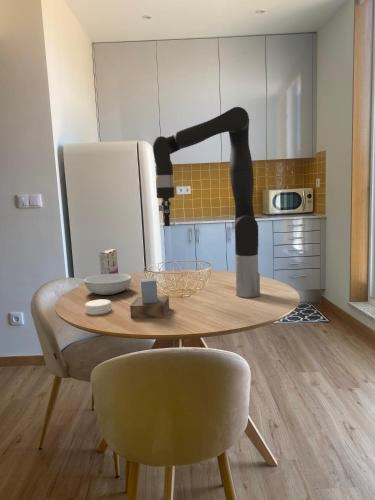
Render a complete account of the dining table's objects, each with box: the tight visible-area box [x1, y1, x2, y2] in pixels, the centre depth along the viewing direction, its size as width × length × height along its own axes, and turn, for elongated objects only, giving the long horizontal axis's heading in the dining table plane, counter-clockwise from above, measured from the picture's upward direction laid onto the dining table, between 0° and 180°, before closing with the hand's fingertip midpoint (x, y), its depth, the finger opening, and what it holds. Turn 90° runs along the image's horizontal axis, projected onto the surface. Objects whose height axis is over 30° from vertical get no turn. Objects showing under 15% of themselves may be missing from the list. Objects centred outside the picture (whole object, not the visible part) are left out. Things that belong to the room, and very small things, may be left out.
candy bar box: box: [98, 248, 119, 275], centre depth 195 cm, size 11×5×16 cm, turn 168°
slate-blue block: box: [140, 277, 158, 304], centre depth 142 cm, size 6×6×8 cm
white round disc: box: [84, 298, 113, 316], centre depth 149 cm, size 10×10×4 cm
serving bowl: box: [83, 273, 132, 296], centre depth 176 cm, size 21×21×7 cm
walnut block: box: [129, 295, 170, 319], centre depth 143 cm, size 12×12×5 cm
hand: (167, 225), depth 164 cm, fingers open, 8 cm apart
